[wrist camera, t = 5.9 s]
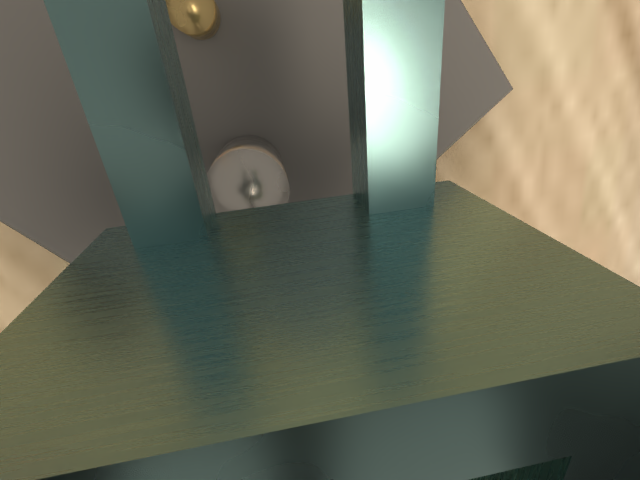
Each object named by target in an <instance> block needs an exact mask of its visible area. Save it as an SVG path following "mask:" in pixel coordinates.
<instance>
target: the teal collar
mask: <svg viewBox="0 0 640 480" xmlns="http://www.w3.org/2000/svg"><path fill="white" fill-rule="evenodd" d="M43 1H44V4H45V6H46V9H47V12H48V15H49V17H50V20H51V23H52V25H53V28H54V31H55V34H56V36H57V39H58V42H59V45H60V47H61V50H62V53H63V55H64V58H65V61H66V64H67V66H68V69H69V72H70V75H71V77H72V80H73V83H74V85H75V88H76V91H77V94H78V96H79V99H80V102H81V105H82V107H83V110H84V113H85V116H86V118H87V121H88V124H89V126H90V129H91V132H92V135H93V137H94V140H95V143H96V146H97V148H98V151H99V154H100V156H101V159H102V162H103V165H104V167H105V170H106V173H107V176H108V178H109V181H110V184H111V186H112V189H113V192H114V195H115V197H116V200H117V203H118V206H119V208H120V211H121V214H122V216H123V219H124V222H125V225H126V226H119V227H112V228H106V229H105V230H104V231H103V232H102V233H101V234H100V235H99V236H98V237H97V238H96V239H95V240H94V241H93V242H92V243H91V244H90V245H89V246H88V247H87V248H86V249H85V250H84V251H83V252H82V253H81V254H80V255H79V256H78V257H77V258H76V259H75V260H74V261H73V262H72V263H71V264H70V265H69V266H68V267H67V268H66V269H65V270H64V271H63V272H62V273H61V274H60V275H59V276H58V277H57V278H56V279H55V280H54V281H53V282H52V283H51V284H50V285H49V286H48V287H47V288H46V289H45V290H44V291H43V292H42V293H41V294H40V295H39V296H38V297H37V298H35V299H34V300H33V301H32V302H31V303H30V304H29V305H28V306H27V307H26V308H25V309H24V310H23V311H22V312H21V313H20V314H19V315H18V316H17V317H16V318H15V319H14V320H13V321H12V322H11V323H10V324H9V325H8V326H7V327H6V328H5V329H4V330H3V331H2V332H1V333H0V480H640V287H639V286H637V285H635V284H634V283H632V282H630V281H628V280H627V279H625V278H623V277H621V276H619V275H618V274H616V273H614V272H612V271H610V270H609V269H607V268H605V267H603V266H601V265H600V264H598V263H596V262H594V261H592V260H591V259H589V258H587V257H585V256H584V255H582V254H580V253H578V252H576V251H575V250H573V249H571V248H569V247H567V246H566V245H564V244H562V243H560V242H558V241H557V240H555V239H553V238H551V237H549V236H548V235H546V234H544V233H542V232H541V231H539V230H537V229H535V228H533V227H532V226H530V225H528V224H526V223H524V222H523V221H521V220H519V219H517V218H515V217H514V216H512V215H510V214H508V213H506V212H505V211H503V210H501V209H499V208H498V207H496V206H494V205H492V204H490V203H489V202H487V201H485V200H483V199H481V198H480V197H478V196H476V195H474V194H472V193H471V192H469V191H467V190H465V189H463V188H462V187H460V186H458V185H456V184H455V183H453V182H451V181H442V182H435V176H436V157H437V139H438V120H439V102H440V83H441V64H442V46H443V27H444V9H445V0H343V14H344V33H345V51H346V70H347V89H348V108H349V127H350V146H351V165H352V184H353V194H349V195H342V196H334V197H327V198H320V199H313V200H306V201H298V202H291V203H284V204H277V205H270V206H263V207H255V208H248V209H241V210H234V211H227V212H220V213H216V211H215V206H214V202H213V198H212V194H211V190H210V185H209V181H208V177H207V173H206V169H205V164H204V160H203V156H202V152H201V148H200V143H199V139H198V135H197V131H196V127H195V123H194V118H193V114H192V110H191V106H190V102H189V97H188V93H187V89H186V85H185V81H184V76H183V72H182V68H181V64H180V60H179V55H178V51H177V47H176V43H175V39H174V35H173V30H172V26H171V22H170V18H169V14H168V9H167V5H166V1H165V0H43Z"/></svg>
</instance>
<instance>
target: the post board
mask: <svg viewBox="0 0 640 480" xmlns="http://www.w3.org/2000/svg"><path fill="white" fill-rule="evenodd" d="M215 2H216V4H217V6H218V8H219V11H220V17H221V20H220V26H219V29H218V31H217V32H216V34H215V35H214V36H213V37H211V38H209V39H207V40H197V39H194V38H192V37H190V36H188V35H186V34H185V33H183V32H181V31H180V30H178V29H177V28H175V27H174V26H173V25H172V24H171V26H172V30H173V35H174V39H175V43H176V47H177V51H178V55H179V60H180V64H181V68H182V72H183V76H184V81H185V85H186V89H187V93H188V97H189V102H190V106H191V110H192V114H193V118H194V123H195V127H196V131H197V135H198V139H199V143H200V148H201V152H202V156H203V160H204V164H205V169H206V173H208V171H209V169H210V167H211V165H212V164H213V162H214V160H215V158H216V157H217V155H218V153H219V151H220V150H221V148H222V147H223V146H224V145H225V144H226V143H227V142H228V141H229V140H231V139H233V138H235V137H237V136H241V135H255V136H259V137H262V138H264V139H266V140H268V141H269V142H270V143H272V144H273V145H274V146H275V147H276V149H277V150H278V151H279V153H280V155H281V157H282V160H283V164H284V167H285V171H286V175H287V179H288V183H289V190H290V193H289V201H288V203H291V202H298V201H306V200H313V199H320V198H327V197H334V196H342V195H349V194H353V184H352V165H351V146H350V127H349V108H348V89H347V70H346V51H345V33H344V14H343V0H215ZM512 89H513V88H512V86H511V84H510V83H509V81H508V79H507V78H506V76H505V74H504V73H503V71H502V69H501V67H500V66H499V64H498V62H497V61H496V59H495V57H494V56H493V54H492V52H491V51H490V49H489V47H488V45H487V44H486V42H485V40H484V39H483V37H482V35H481V34H480V32H479V30H478V29H477V27H476V25H475V24H474V22H473V20H472V18H471V17H470V15H469V13H468V12H467V10H466V8H465V7H464V5H463V3H462V2H461V0H445V9H444V27H443V46H442V64H441V83H440V102H439V120H438V139H437V157H436V160H437V159H438V158H439V157H440V156H441V155H442V154H443V153H444V152H445V151H446V150H447V149H448V148H450V147H451V146H452V145H453V144H454V143H455V142H456V141H457V140H458V139H459V138H460V137H461V136H463V135H464V134H465V133H466V132H467V131H468V130H469V129H470V128H471V127H472V126H473V125H474V124H476V123H477V122H478V121H479V120H480V119H481V118H482V117H483V116H484V115H485V114H486V113H487V112H489V111H490V110H491V109H492V108H493V107H494V106H495V105H496V104H497V103H498V102H499V101H500V100H502V99H503V98H504V97H505V96H506V95H507V94H508V93H509V92H510V91H511V90H512ZM0 221H1V222H2V223H4V224H6V225H7V226H9V227H11V228H12V229H14V230H16V231H17V232H19V233H21V234H22V235H24V236H26V237H27V238H29V239H31V240H32V241H34V242H36V243H37V244H39V245H40V246H42V247H44V248H45V249H47V250H49V251H50V252H52V253H54V254H55V255H57V256H59V257H60V258H62V259H64V260H65V261H67V262H69V263H70V264H71V263H72V262H73V261H74V260H75V259H76V258H77V257H78V256H79V255H80V254H81V253H82V252H83V251H84V250H85V249H86V248H87V247H88V246H89V245H90V244H91V243H92V242H93V241H94V240H95V239H96V238H97V237H98V236H99V235H100V234H101V233H102V232H103V231H104V230H105V229H106V228H112V227H119V226H126V225H125V222H124V219H123V216H122V214H121V211H120V208H119V206H118V203H117V200H116V197H115V195H114V192H113V189H112V186H111V184H110V181H109V178H108V176H107V173H106V170H105V167H104V165H103V162H102V159H101V156H100V154H99V151H98V148H97V146H96V143H95V140H94V137H93V135H92V132H91V129H90V126H89V124H88V121H87V118H86V116H85V113H84V110H83V107H82V105H81V102H80V99H79V96H78V94H77V91H76V88H75V85H74V83H73V80H72V77H71V75H70V72H69V69H68V66H67V64H66V61H65V58H64V55H63V53H62V50H61V47H60V45H59V42H58V39H57V36H56V34H55V31H54V28H53V25H52V23H51V20H50V17H49V15H48V12H47V9H46V6H45V4H44V1H43V0H0Z"/></svg>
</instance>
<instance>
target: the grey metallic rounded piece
mask: <svg viewBox="0 0 640 480" xmlns="http://www.w3.org/2000/svg"><path fill="white" fill-rule="evenodd" d="M207 177H208V181H209V185H210V190H211V194H212V198H213V202H214V206H215V211H216V213H220V212H227V211H234V210H241V209H248V208H255V207H263V206H270V205H277V204H284V203H288V201H289V193H290V190H289V183H288V179H287V175H286V171H285V167H284V164H283V160H282V157H281V155H280V153H279V151H278V150H277V149H276V147H275V146H274V145H273V144H272V143H270V142H269V141H268V140H266V139H264V138H262V137H259V136H255V135H241V136H237V137H235V138H233V139H231V140H229V141H228V142H227V143H226V144H225V145H224V146H223V147H222V148H221V150H220V151H219V153H218V155H217V157H216V158H215V160H214V162H213V164H212V165H211V167H210V169H209V171H208V173H207Z"/></svg>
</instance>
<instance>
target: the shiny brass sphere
mask: <svg viewBox="0 0 640 480" xmlns="http://www.w3.org/2000/svg"><path fill="white" fill-rule="evenodd" d="M165 1H166V5H167V9H168V14H169V18H170V22H171V24H172V25H173V26H174V27H175V28H177V29H178V30H180V31H181V32H183V33H185V34H186V35H188V36H190V37H192V38H194V39H197V40H207V39H209V38H211V37H213V36H214V35H215V34H216V32H217V31H218V29H219V26H220V20H221V17H220V11H219V8H218V6H217V4H216V2H215V0H165Z"/></svg>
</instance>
